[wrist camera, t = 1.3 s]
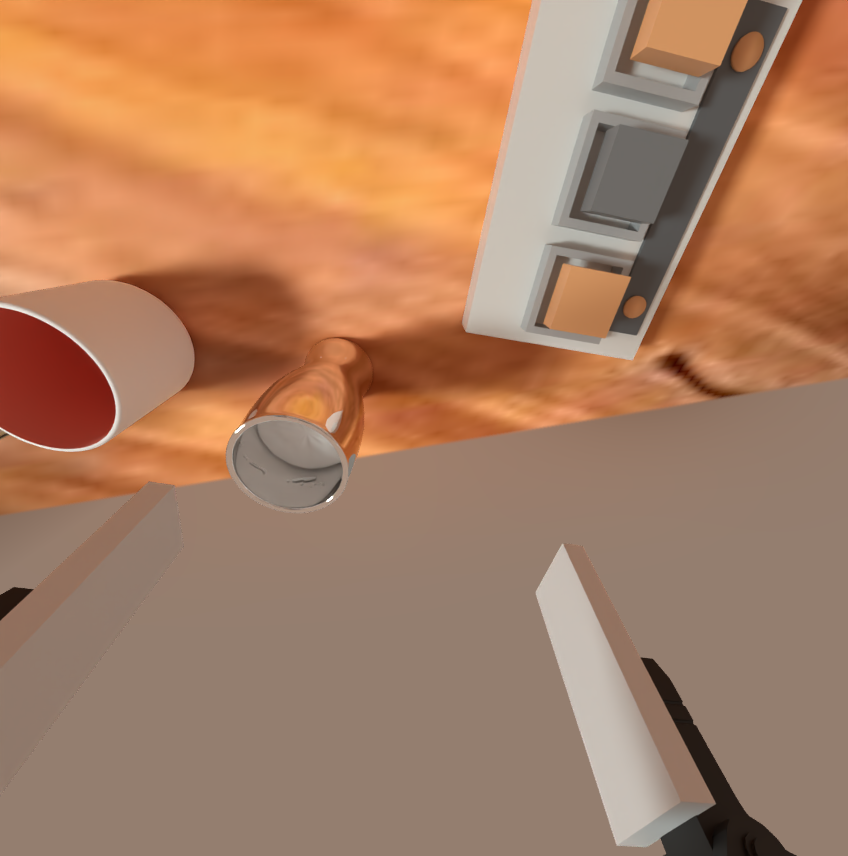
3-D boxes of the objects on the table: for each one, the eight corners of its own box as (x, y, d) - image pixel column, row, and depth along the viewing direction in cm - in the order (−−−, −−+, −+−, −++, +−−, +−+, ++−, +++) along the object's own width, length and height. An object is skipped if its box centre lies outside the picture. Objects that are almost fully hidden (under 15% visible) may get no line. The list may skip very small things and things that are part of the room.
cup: (209, 310, 30) (124, 345, 21) (193, 408, 34) (117, 471, 26) (74, 255, 28) (-83, 269, 19) (76, 368, 32) (-51, 421, 23)
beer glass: (387, 395, 34) (369, 502, 21) (318, 412, 35) (259, 526, 22) (363, 323, 31) (323, 396, 18) (287, 343, 31) (194, 429, 18)
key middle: (606, 130, 21) (620, 123, 19) (670, 145, 21) (688, 140, 20) (580, 211, 22) (590, 210, 21) (639, 223, 23) (653, 223, 22)
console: (548, -72, 20) (580, -144, 16) (771, -8, 21) (851, -60, 18) (461, 322, 31) (468, 337, 27) (614, 349, 32) (642, 366, 28)
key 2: (666, -55, 17) (689, -79, 16) (742, -32, 18) (770, -55, 16) (629, 59, 19) (646, 46, 18) (698, 77, 20) (720, 65, 18)
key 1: (562, 263, 24) (571, 265, 23) (619, 274, 24) (631, 277, 23) (543, 323, 26) (550, 329, 24) (595, 332, 26) (605, 338, 25)
